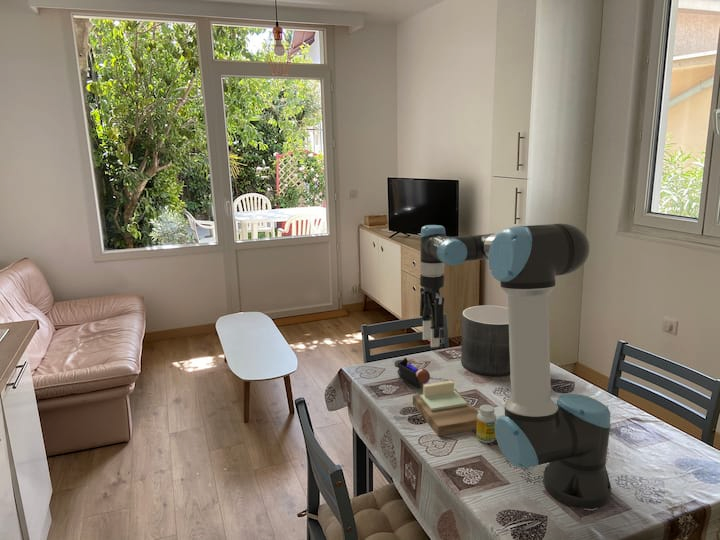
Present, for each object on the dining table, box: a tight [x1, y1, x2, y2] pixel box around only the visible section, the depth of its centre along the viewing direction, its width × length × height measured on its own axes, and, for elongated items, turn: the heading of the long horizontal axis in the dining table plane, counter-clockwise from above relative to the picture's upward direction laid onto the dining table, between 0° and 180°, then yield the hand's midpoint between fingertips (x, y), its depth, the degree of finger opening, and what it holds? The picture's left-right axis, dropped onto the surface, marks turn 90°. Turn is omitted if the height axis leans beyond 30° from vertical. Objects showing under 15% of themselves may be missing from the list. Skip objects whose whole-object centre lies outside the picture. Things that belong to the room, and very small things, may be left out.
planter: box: [460, 305, 510, 377], centre depth 193 cm, size 22×22×20 cm
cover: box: [420, 380, 467, 411], centre depth 161 cm, size 9×12×4 cm
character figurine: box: [393, 357, 431, 389], centre depth 181 cm, size 8×7×15 cm
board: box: [412, 388, 480, 437], centre depth 159 cm, size 20×15×3 cm
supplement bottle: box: [475, 404, 497, 444], centre depth 145 cm, size 5×5×10 cm
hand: (430, 342), depth 168 cm, fingers open, 6 cm apart
